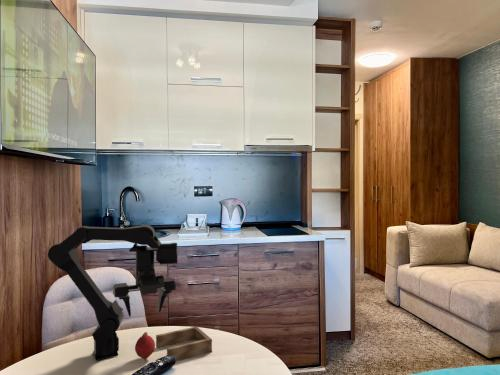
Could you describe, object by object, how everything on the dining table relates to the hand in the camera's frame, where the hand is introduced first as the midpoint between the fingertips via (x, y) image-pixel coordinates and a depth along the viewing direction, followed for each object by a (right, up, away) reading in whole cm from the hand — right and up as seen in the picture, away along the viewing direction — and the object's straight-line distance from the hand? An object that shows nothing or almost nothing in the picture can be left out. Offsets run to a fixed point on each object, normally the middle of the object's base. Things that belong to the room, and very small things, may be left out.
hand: (144, 314), depth 113 cm
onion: (+2, -12, -5) cm, 13 cm away
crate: (+12, -12, +1) cm, 17 cm away
